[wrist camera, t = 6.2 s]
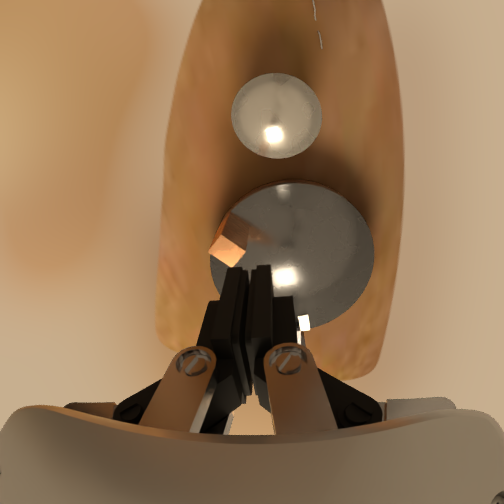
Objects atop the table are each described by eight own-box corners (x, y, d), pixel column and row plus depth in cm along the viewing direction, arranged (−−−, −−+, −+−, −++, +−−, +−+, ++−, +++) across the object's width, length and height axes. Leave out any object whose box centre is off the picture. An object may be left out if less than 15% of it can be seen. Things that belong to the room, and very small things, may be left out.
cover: (235, 88, 21) (226, 77, 16) (305, 83, 20) (317, 72, 15) (243, 152, 24) (236, 162, 18) (310, 148, 23) (324, 156, 18)
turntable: (185, 268, 28) (164, 311, 21) (279, 144, 22) (285, 151, 16) (298, 338, 31) (303, 385, 25) (395, 245, 25) (426, 282, 19)
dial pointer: (287, 306, 30) (289, 332, 26) (301, 304, 30) (305, 330, 26) (288, 327, 32) (290, 353, 28) (302, 326, 32) (305, 352, 28)
